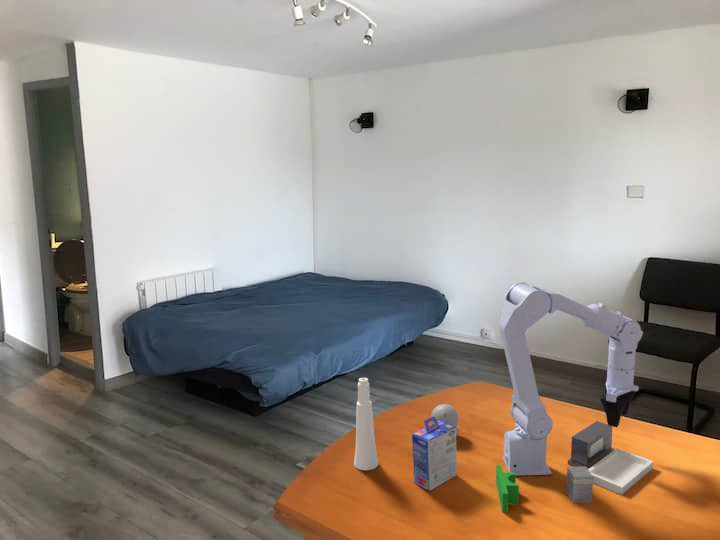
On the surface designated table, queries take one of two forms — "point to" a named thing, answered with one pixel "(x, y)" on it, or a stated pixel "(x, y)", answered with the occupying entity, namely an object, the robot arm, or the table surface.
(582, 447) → the mounted housing
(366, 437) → the cosmetic bottle
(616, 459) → the tray
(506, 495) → the pipe clamp
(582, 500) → the block
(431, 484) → the ink cartridge box
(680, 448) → the table surface
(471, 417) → the table surface
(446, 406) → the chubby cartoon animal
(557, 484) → the table surface
